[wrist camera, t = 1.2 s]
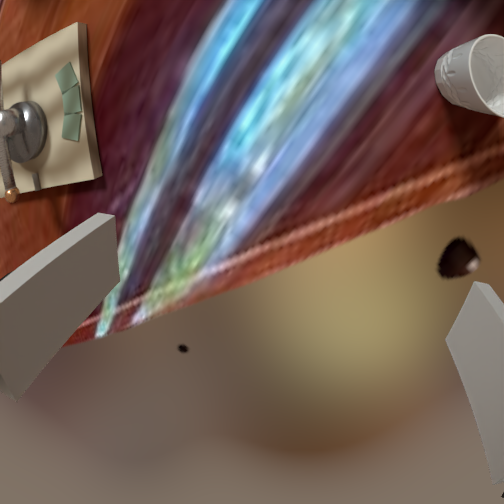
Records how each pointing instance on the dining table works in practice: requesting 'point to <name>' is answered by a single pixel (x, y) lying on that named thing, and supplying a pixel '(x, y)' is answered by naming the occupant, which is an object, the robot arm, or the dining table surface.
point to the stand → (55, 109)
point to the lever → (19, 138)
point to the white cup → (474, 75)
